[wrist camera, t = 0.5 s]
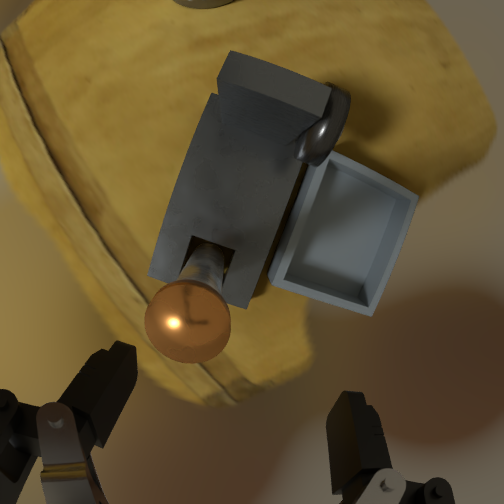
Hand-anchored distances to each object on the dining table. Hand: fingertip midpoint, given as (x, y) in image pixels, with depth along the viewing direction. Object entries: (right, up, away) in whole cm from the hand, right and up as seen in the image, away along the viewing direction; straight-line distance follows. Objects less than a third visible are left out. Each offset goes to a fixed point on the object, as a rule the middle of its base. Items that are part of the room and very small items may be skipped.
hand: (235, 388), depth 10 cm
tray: (+9, +7, +19) cm, 22 cm away
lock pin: (-4, +4, +19) cm, 19 cm away
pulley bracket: (-2, +10, +18) cm, 20 cm away
